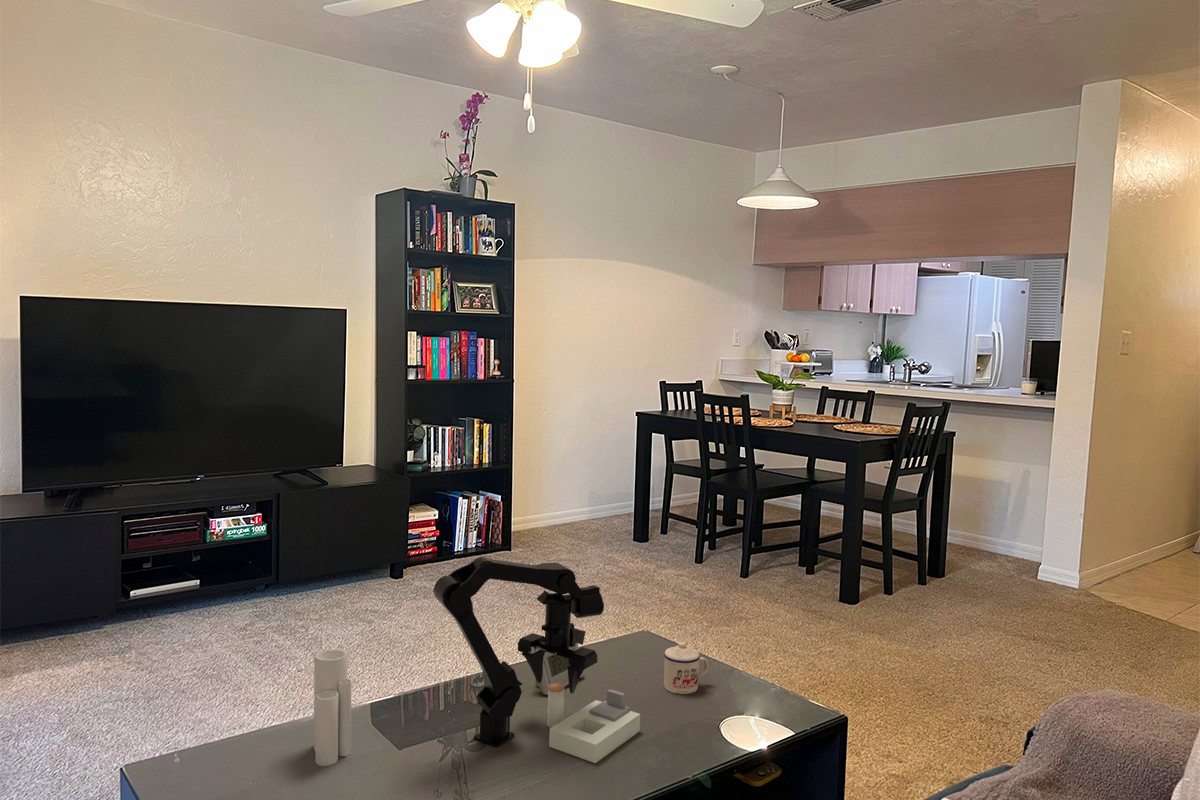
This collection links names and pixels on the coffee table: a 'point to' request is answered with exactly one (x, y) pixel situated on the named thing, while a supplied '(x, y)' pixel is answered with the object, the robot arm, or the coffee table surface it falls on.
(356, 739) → the coffee table surface
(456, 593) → the robot arm
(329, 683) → the vase
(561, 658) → the digital clock
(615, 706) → the shutter
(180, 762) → the coffee table surface
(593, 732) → the socket block
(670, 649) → the teacup with lid
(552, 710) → the plug
